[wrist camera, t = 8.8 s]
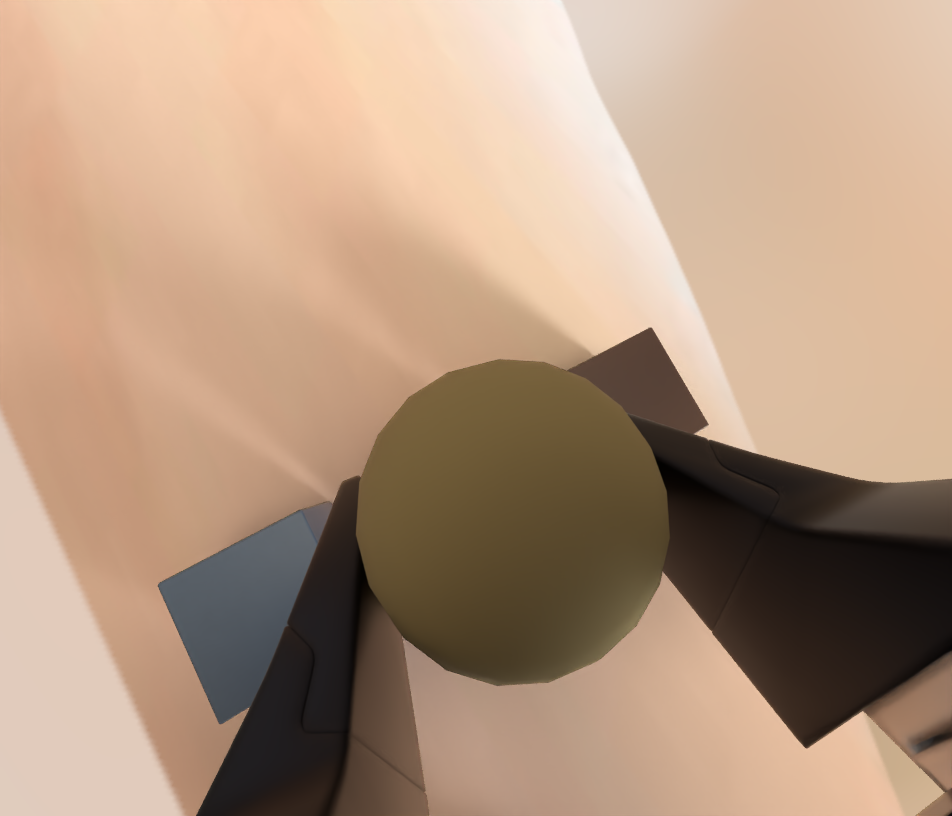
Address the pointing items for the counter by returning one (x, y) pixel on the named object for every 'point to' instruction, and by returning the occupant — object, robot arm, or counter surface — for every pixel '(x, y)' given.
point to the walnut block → (644, 382)
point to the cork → (512, 522)
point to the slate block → (242, 606)
